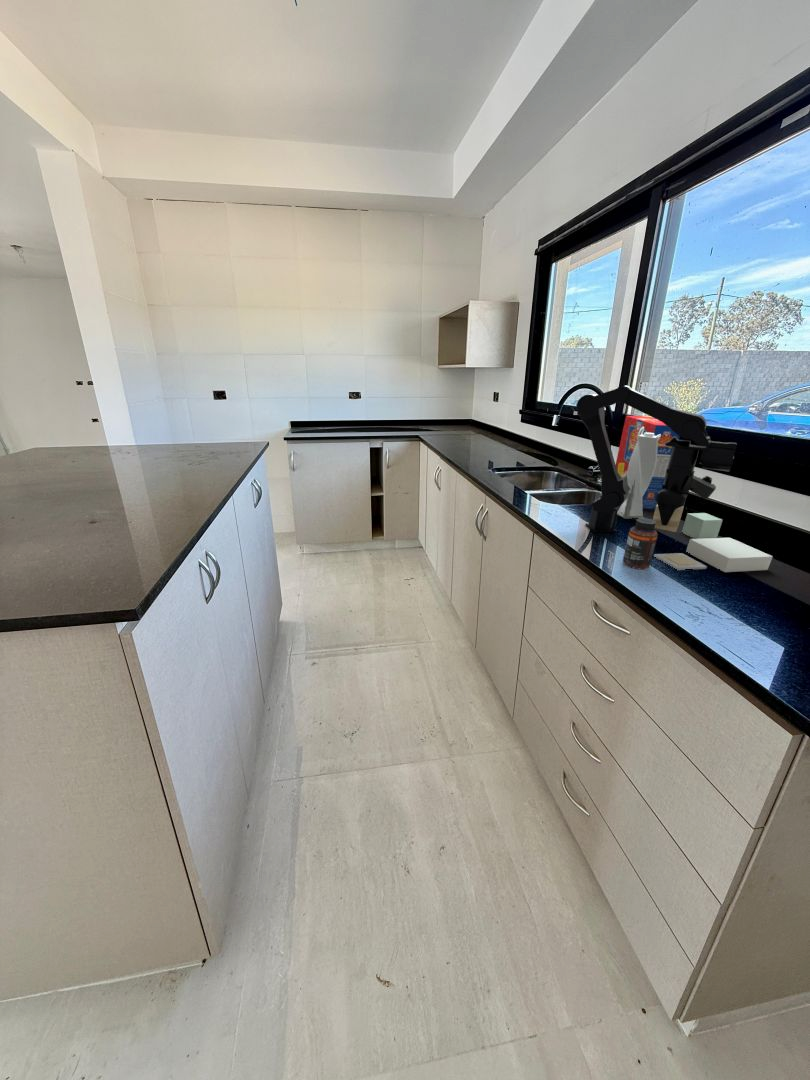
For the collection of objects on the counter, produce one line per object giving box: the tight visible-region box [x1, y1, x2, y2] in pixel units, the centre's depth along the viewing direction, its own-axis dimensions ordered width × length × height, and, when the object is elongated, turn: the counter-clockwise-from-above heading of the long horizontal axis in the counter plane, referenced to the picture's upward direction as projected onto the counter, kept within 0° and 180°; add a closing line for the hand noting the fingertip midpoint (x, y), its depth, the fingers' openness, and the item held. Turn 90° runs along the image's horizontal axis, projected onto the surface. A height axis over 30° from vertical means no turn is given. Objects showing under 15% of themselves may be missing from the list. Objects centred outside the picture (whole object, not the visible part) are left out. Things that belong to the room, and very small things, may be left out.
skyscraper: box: [617, 426, 661, 520], centre depth 135 cm, size 8×8×28 cm
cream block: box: [685, 537, 774, 573], centre depth 107 cm, size 12×12×4 cm
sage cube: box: [681, 512, 723, 539], centre depth 122 cm, size 6×6×6 cm
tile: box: [653, 552, 708, 571], centre depth 106 cm, size 8×8×1 cm
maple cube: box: [652, 504, 685, 533], centre depth 116 cm, size 6×6×6 cm
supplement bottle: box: [622, 517, 658, 570], centre depth 102 cm, size 6×6×11 cm
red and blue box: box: [615, 415, 681, 511], centre depth 154 cm, size 28×8×28 cm, turn 172°
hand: (665, 522), depth 116 cm, fingers closed on maple cube, 6 cm apart
